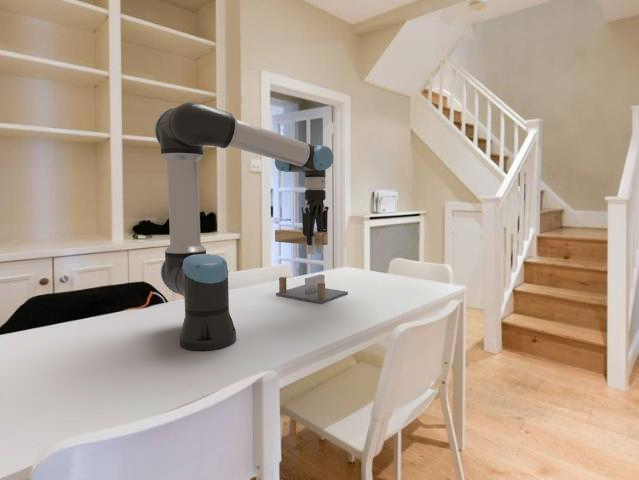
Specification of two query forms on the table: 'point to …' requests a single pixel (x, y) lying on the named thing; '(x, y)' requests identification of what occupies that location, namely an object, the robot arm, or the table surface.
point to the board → (317, 297)
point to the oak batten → (300, 237)
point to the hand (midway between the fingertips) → (315, 253)
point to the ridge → (313, 283)
